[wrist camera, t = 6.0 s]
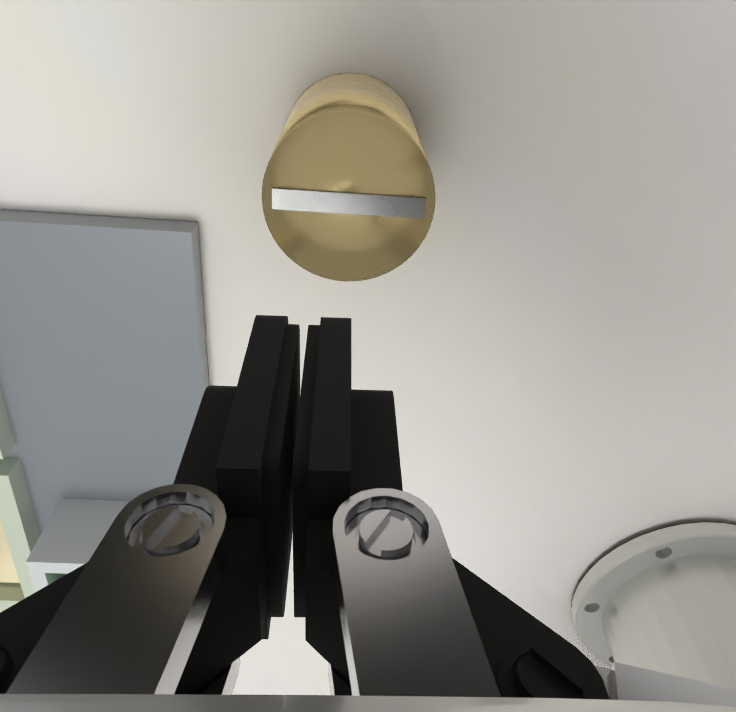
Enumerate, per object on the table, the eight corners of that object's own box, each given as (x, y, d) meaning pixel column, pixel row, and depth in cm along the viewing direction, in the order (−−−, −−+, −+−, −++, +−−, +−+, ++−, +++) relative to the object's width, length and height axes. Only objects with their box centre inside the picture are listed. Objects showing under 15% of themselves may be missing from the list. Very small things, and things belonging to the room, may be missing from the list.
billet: (423, 78, 23) (446, 119, 17) (409, 211, 26) (424, 287, 20) (285, 68, 23) (259, 106, 17) (284, 203, 26) (262, 278, 20)
